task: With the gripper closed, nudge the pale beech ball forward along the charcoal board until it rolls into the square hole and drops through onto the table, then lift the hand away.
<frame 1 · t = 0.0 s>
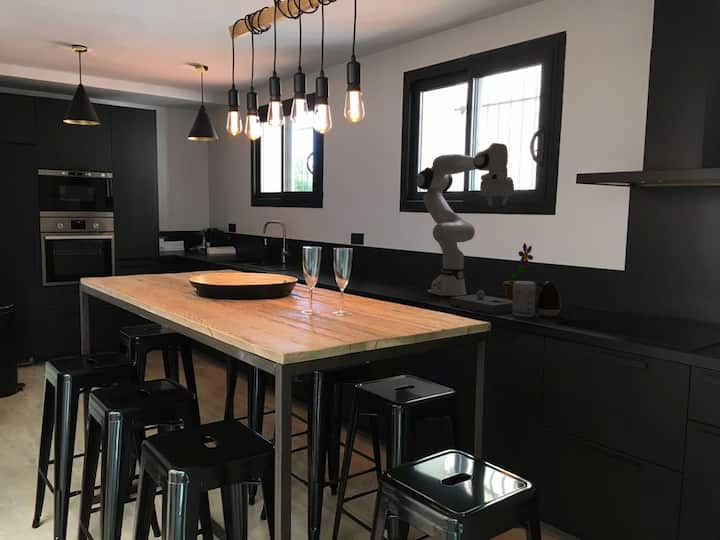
hand: (497, 205, 288), 48 cm above the table, tool pointing down, fingers open, 8 cm apart
flowerpot: (517, 303, 288), on the table
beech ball: (480, 294, 277), point 6 cm above the table, touching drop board
supplement tub: (523, 316, 256), on the table
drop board: (485, 307, 275), on the table
dark brown egg shape: (548, 316, 256), on the table
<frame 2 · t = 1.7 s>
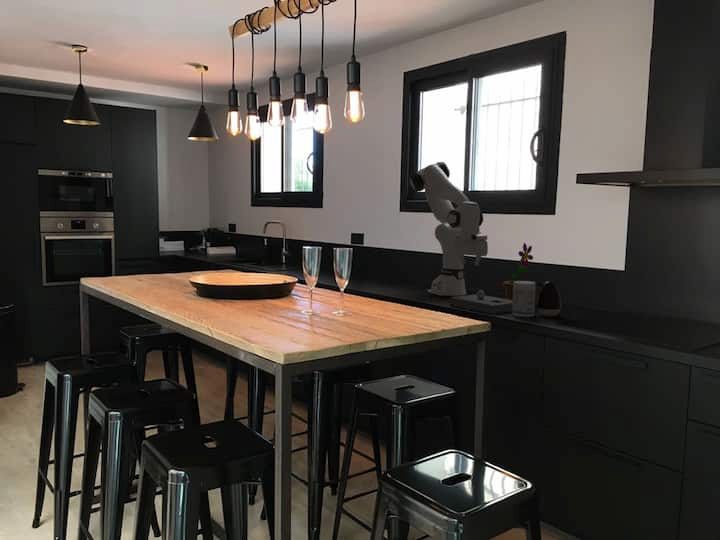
hand: (469, 264, 282), 20 cm above the table, tool pointing down, fingers open, 8 cm apart
nothing on the table moved.
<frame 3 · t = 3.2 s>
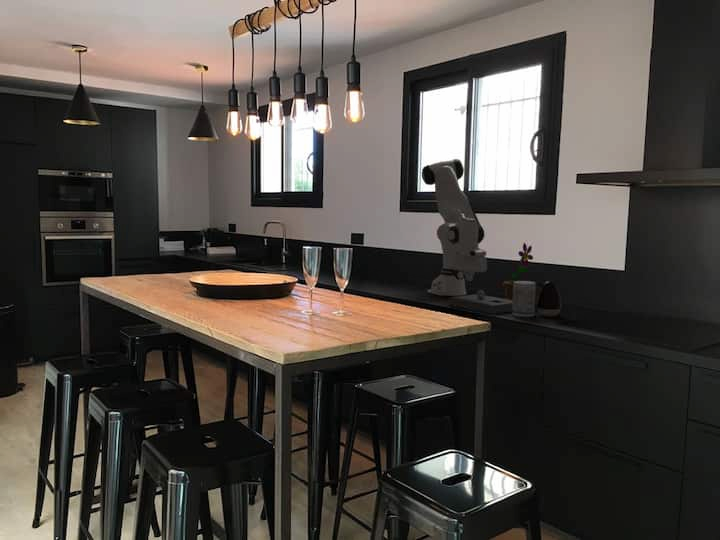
hand: (469, 280, 282), 12 cm above the table, tool pointing down, fingers closed
nothing on the table moved.
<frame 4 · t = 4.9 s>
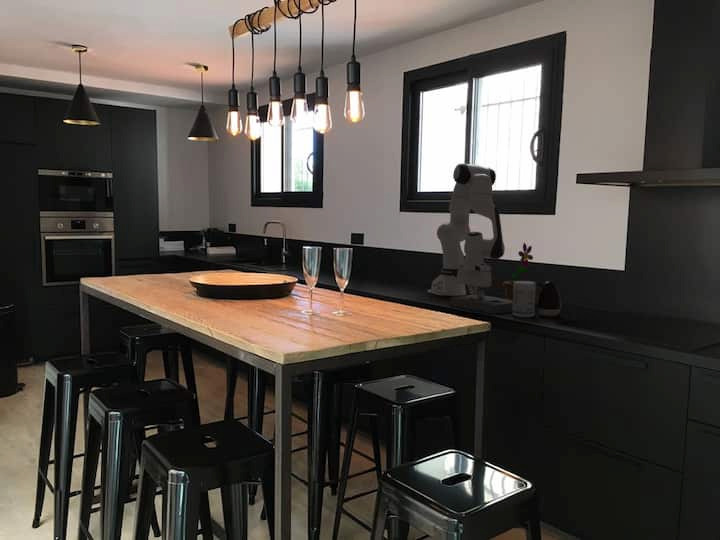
hand: (473, 294, 281), 5 cm above the table, tool pointing down, fingers closed
nothing on the table moved.
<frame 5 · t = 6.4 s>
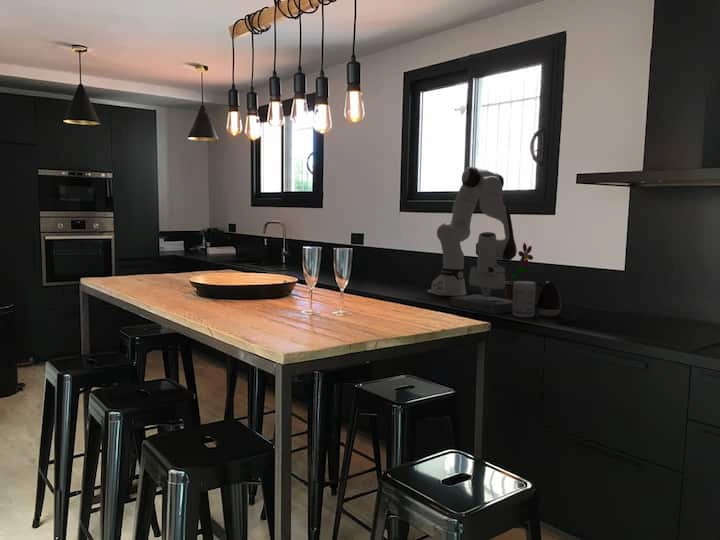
hand: (486, 296, 274), 5 cm above the table, tool pointing down, fingers closed
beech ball: (497, 306, 268), point 2 cm above the table
everything else where it was.
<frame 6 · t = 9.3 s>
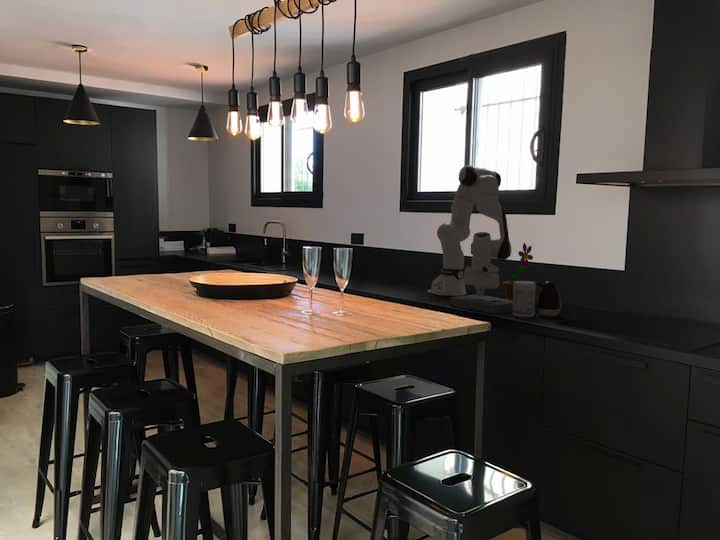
hand: (480, 296, 277), 5 cm above the table, tool pointing down, fingers closed
nothing on the table moved.
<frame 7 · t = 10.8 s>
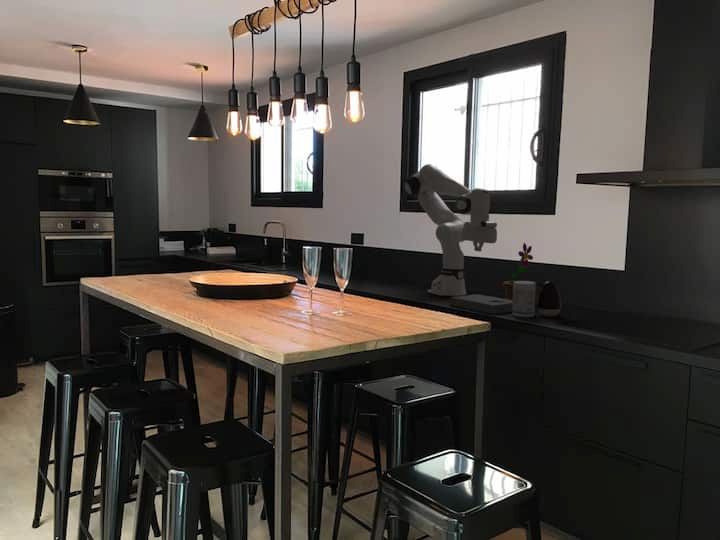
hand: (477, 251, 284), 26 cm above the table, tool pointing down, fingers closed
nothing on the table moved.
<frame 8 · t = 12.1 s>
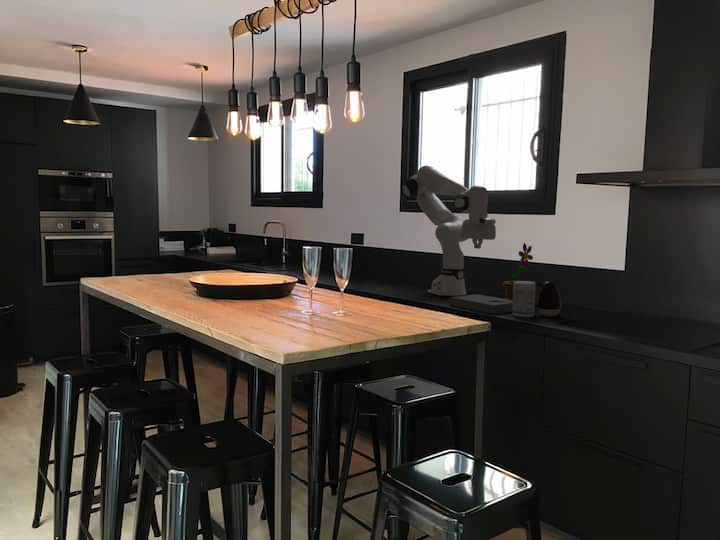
hand: (477, 248, 284), 27 cm above the table, tool pointing down, fingers closed
nothing on the table moved.
at the end: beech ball 0.5 cm from the target spot on the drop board, point 2.0 cm above the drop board's base; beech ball moved 11.2 cm from its start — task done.
